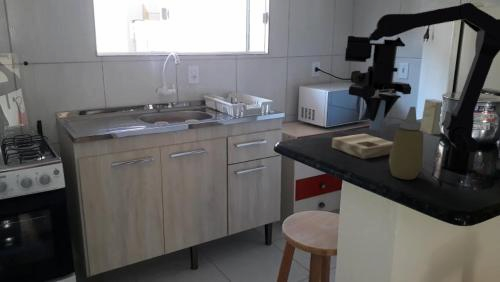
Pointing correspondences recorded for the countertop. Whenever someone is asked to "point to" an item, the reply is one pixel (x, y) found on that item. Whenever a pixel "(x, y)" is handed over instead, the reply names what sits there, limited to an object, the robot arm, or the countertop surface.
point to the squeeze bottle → (407, 148)
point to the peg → (378, 118)
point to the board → (362, 145)
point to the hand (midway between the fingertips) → (376, 120)
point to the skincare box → (431, 117)
